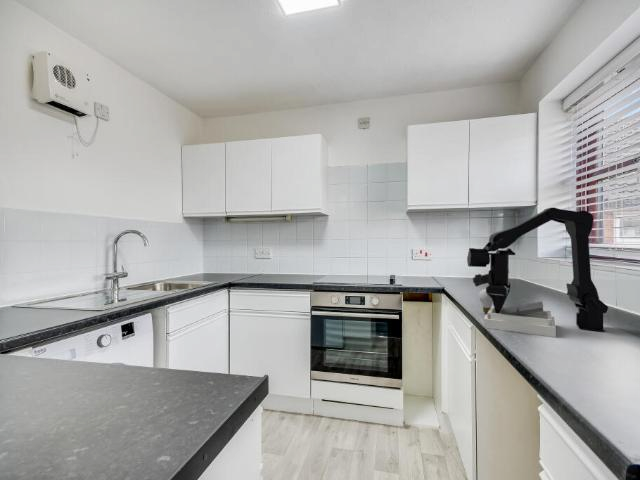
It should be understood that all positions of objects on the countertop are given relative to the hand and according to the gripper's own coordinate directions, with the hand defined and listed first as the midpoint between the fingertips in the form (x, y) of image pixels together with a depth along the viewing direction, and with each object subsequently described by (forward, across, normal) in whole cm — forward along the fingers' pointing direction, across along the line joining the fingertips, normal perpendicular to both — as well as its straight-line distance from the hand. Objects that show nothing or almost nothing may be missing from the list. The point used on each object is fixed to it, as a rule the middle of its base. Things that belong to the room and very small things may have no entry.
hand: (498, 310), depth 115 cm
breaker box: (+5, 0, +6) cm, 8 cm away
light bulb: (+5, -15, -6) cm, 17 cm away
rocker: (-1, 0, +6) cm, 6 cm away
